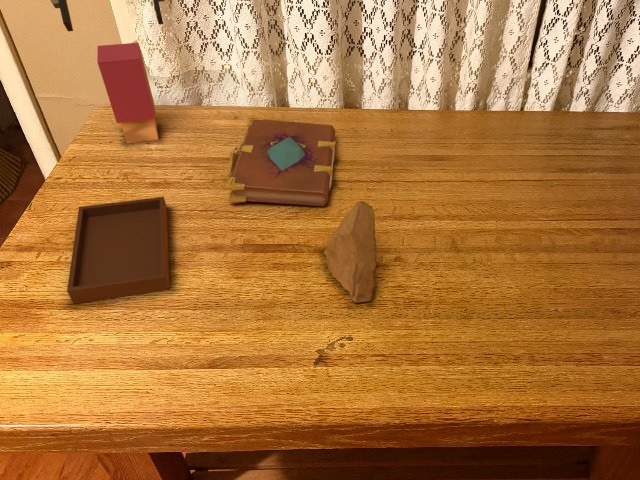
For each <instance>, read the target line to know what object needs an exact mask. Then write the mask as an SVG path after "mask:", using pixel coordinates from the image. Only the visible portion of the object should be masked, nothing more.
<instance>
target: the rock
mask: <svg viewBox="0 0 640 480" xmlns="http://www.w3.org/2000/svg"><path fill="white" fill-rule="evenodd" d="M323 255H325V259H326V265H327V270H328V271H329V272H330V273H331V275H332V277H333V278H334V279H335V280H336V281H337V282H338V283H340V285H341V287H342V288H343V289H344V290H346V291H347V292H348V293H349V296H350V300H352V302H353V303H355V304H359V303H369V302H371V301H372V300H373V297H374V291H375V289H376V272H377V238H376V221H375V210H374V207H373V206H372V205H370V204H369V203H367V202H364V201H363V200H359V201H357V202H356V204H355V205H354V206H353V207H352V208H350V210H349V211H348V212H347V213H346V214H345V216H344V217H343V219H342V220H341V221H340V223H339V225H338V227H337V228H336V229H335V230H334V231H333V232H332V234H331V235H330V237H329V239H328V241H327V243H326V247H325V249H324V251H323Z"/></svg>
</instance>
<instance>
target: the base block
mask: <svg viewBox="0 0 640 480" xmlns="http://www.w3.org/2000/svg"><path fill="white" fill-rule="evenodd" d="M156 120H157V119H150V120H141V121H132V122H124V123H120V125H121V129H122V132H123V135H124V138H125V142H126V144H134V143H135V144H136V143H145V142H152V141H159V132H158V124H157V121H156Z"/></svg>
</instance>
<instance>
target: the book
mask: <svg viewBox="0 0 640 480" xmlns="http://www.w3.org/2000/svg"><path fill="white" fill-rule="evenodd" d="M246 127H247V129H246V132H245V136H244V138H243V141H240V142H239V145H235V146H234V147H233V149H232V151H229V162H228V166H227V171H226V172H228V173H232V176H231V177H230V178H229V179H228V180H227V181H226V182H227V183H226V186H225V188H226V189H228V190H230V192H229V193H228V196H227V201H228V202H231V203H246V202H258V203H273V204H285V205H286V204H287V205H299V206H301V205H302V206H313V207H314V206H315V207H324V206H325V205H327V203H328V201H329V196H330V195H329V194H330V190H331V187H333V171H334V162H335V160H336V139H335V138H336V129H335V127H334V126H333V125H332V124H323V123H311V122H301V121H289V120H279V119H266V118H263V117H260V116H255V115H251V116H247V118H246ZM235 151H236V152H235Z"/></svg>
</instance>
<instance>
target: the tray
mask: <svg viewBox="0 0 640 480" xmlns="http://www.w3.org/2000/svg"><path fill="white" fill-rule="evenodd" d="M77 211H78V212H77V218H76V224H75V225H76V226H75V233H74V238H73V239H74V240H73V246H72V254H71V261H70V268H69V274H68V281H67V282H68V283H67V288H66V292H67V294H68V296H69V298H70V300H71V302H72V304H73V305H76V304H82V303H84V304H85V303H89V302H97V301H103V300H104V301H105V300H110V299H116V298H122V297H129V296H135V295H143V294H148V293H155V292H161V291H168V290H171V286H170V285H171V284H170V251H169V217H168V216H169V214H168V207H167V203H166V199H165V197H164V196H159V197H151V198H149V197H148V198H142V199H133V200H132V199H131V200H125V201H116V202H108V203H99V204H91V205H83V206H78V210H77Z"/></svg>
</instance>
